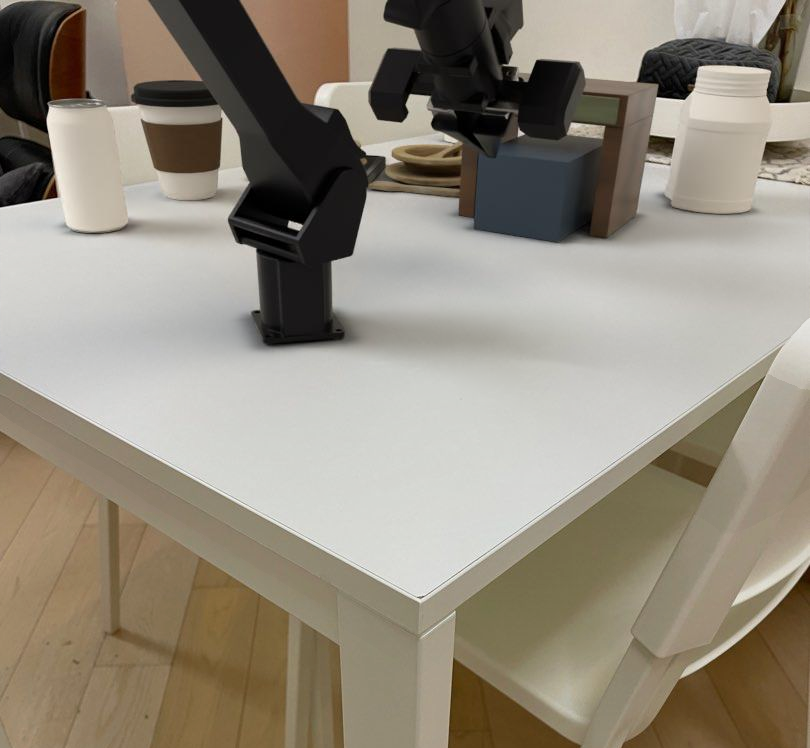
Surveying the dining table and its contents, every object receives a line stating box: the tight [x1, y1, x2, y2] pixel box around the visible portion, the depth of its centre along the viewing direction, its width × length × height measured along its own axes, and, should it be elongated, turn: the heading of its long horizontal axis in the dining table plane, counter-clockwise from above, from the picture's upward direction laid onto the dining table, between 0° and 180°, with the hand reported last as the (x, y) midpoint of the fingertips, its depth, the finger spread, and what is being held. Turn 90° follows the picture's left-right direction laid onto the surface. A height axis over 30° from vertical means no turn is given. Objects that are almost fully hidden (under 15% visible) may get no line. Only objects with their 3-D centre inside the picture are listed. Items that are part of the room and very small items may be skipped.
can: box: [46, 98, 129, 234], centre depth 89 cm, size 6×6×12 cm
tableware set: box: [354, 139, 462, 198], centre depth 116 cm, size 30×20×6 cm, turn 75°
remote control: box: [364, 154, 387, 184], centre depth 117 cm, size 8×1×15 cm
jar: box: [664, 65, 773, 215], centre depth 104 cm, size 12×10×15 cm
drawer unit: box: [457, 72, 659, 239], centre depth 97 cm, size 13×18×14 cm
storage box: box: [473, 133, 603, 243], centre depth 97 cm, size 16×10×8 cm, turn 152°
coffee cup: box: [130, 79, 223, 201], centre depth 102 cm, size 11×11×12 cm
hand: (493, 154), depth 82 cm, fingers closed
